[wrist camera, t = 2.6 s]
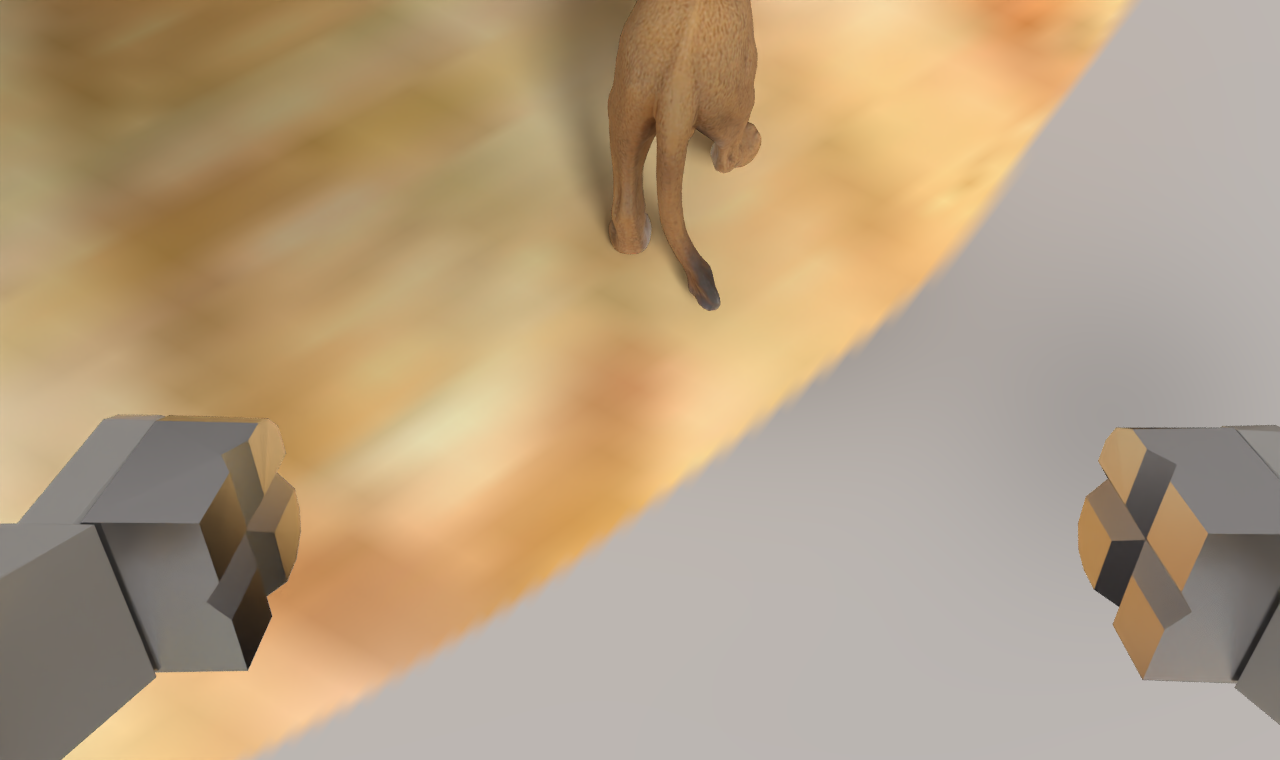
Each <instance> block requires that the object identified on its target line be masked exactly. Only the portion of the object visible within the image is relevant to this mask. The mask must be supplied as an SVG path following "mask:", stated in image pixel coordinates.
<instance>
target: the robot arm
mask: <svg viewBox="0 0 1280 760" xmlns="http://www.w3.org/2000/svg"><path fill="white" fill-rule="evenodd" d="M285 454H286V451H285V448H284V444H283V441H282V438H281V434H280V431H279V427H278V426H277V425H276V424H275V423H274V422H272V421H271V420H270V419H268V418H243V417H210V416H178V415H169V416H162V415H115V416H112V417H109V418H106V419H104V420H103V421H102V422H101V423H100V424H99V425H98V427H97V428H96V429H95V430H94V431H93V433H92V434H91V435H90V436H89V437H88V439H87V440H86V441H85V442H84V443H83V445H82V446H81V447H80V448H79V449H78V451H77V452H76V453H75V454H74V455H73V457H72V458H71V459H70V460H69V462H68V463H67V464H66V465H65V466H64V468H63V469H62V470H61V471H60V472H59V474H58V475H57V476H56V477H55V478H54V480H53V481H52V482H51V483H50V484H49V486H48V487H47V488H46V489H45V490H44V492H43V493H42V494H41V495H40V497H39V498H38V499H37V500H36V501H35V503H34V504H33V505H32V506H31V507H30V509H29V510H28V511H27V512H26V513H25V515H24V516H23V517H22V518H21V519H20V521H19V522H18V523H17V524H0V760H61V759H63V758H64V757H65V756H66V755H67V754H68V753H69V752H71V751H72V750H73V749H74V748H75V747H76V746H78V745H79V744H80V743H81V742H82V741H83V740H84V739H86V738H87V737H88V736H89V735H90V734H91V733H93V732H94V731H95V730H96V729H97V728H98V727H99V726H101V725H102V724H103V723H104V722H105V721H106V720H107V719H109V718H110V717H111V716H112V715H113V714H114V713H116V712H117V711H118V710H119V709H120V708H121V707H122V706H124V705H125V704H126V703H127V702H128V701H129V700H131V699H132V698H133V697H134V696H135V695H136V694H137V693H139V692H140V691H141V690H142V689H143V688H144V687H146V686H147V685H148V684H149V683H150V682H151V681H152V680H154V679H155V678H156V674H155V672H202V671H248V669H249V667H250V665H251V663H252V660H253V658H254V656H255V654H256V651H257V649H258V647H259V645H260V642H261V640H262V638H263V636H264V633H265V631H266V629H267V627H268V624H269V622H270V620H271V618H272V614H271V610H270V607H269V603H268V600H267V596H268V595H269V594H271V593H272V592H273V591H275V590H276V589H277V588H279V587H280V586H282V585H283V584H284V583H286V582H287V581H288V578H289V576H290V573H291V571H292V569H293V566H294V564H295V561H296V558H297V552H298V546H299V539H300V533H301V525H300V508H299V504H298V500H297V495H296V491H295V488H294V487H292V486H291V485H290V484H289V483H288V482H287V481H286V480H285V479H284V478H282V477H281V476H280V475H279V474H278V473H277V470H278V468H279V466H280V464H281V462H282V460H283V458H284V456H285ZM1098 461H1099V463H1100V465H1101V467H1102V469H1103V471H1104V473H1105V475H1106V476H1107V478H1108V479H1107V480H1106V481H1105V482H1103V483H1102V484H1101V485H1100V486H1098V487H1097V488H1096V489H1095V490H1094V491H1092V492H1091V493H1090V494H1089V495H1087V496H1086V498H1085V502H1084V505H1083V509H1082V512H1081V515H1080V519H1079V522H1078V539H1079V540H1078V545H1079V546H1078V547H1079V553H1080V557H1081V561H1082V565H1083V568H1084V571H1085V573H1086V575H1087V577H1088V579H1089V581H1090V583H1091V585H1092V587H1093V589H1094V590H1095V591H1097V592H1098V593H1100V594H1101V595H1102V596H1104V597H1105V598H1107V599H1108V600H1110V601H1111V602H1113V603H1114V604H1115V605H1117V606H1118V607H1119V609H1118V612H1117V614H1116V617H1115V620H1114V622H1113V626H1114V628H1115V630H1116V632H1117V634H1118V635H1119V637H1120V639H1121V641H1122V643H1123V645H1124V647H1125V648H1126V650H1127V652H1128V654H1129V656H1130V658H1131V660H1132V661H1133V663H1134V665H1135V667H1136V669H1137V671H1138V672H1139V674H1140V676H1141V678H1142V680H1155V681H1182V682H1210V683H1236V686H1235V688H1236V689H1237V690H1238V691H1239V692H1241V693H1242V694H1243V695H1244V696H1245V697H1247V698H1248V699H1249V700H1250V701H1251V702H1253V703H1254V704H1255V705H1256V706H1257V707H1259V708H1260V709H1261V710H1262V711H1264V712H1265V713H1266V714H1267V715H1269V716H1270V717H1271V718H1272V719H1273V720H1274V721H1276V722H1277V723H1278V724H1279V725H1280V427H1279V426H1276V425H1254V426H1222V427H1220V428H1115V430H1114V431H1113V432H1112V433H1111V435H1110V436H1109V437H1108V438H1107V439H1106V441H1105V444H1104V447H1103V449H1102V452H1101V455H1100V458H1099V460H1098Z"/></svg>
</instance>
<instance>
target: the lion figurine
mask: <svg viewBox="0 0 1280 760" xmlns="http://www.w3.org/2000/svg"><path fill="white" fill-rule="evenodd" d="M756 68H757V49H756V45H755V40H754V30H753V18H752V10H751V2H750V0H638V1H637V3H636V5H635V6H634V8H633V10H632V12H631V14H630V16H629V18H628V19H627V21H626V23H625V25H624V28H623V30H622V33H621V35H620V41H619V48H618V53H617V58H616V68H615V76H614V83H613V87H612V89H611V92H610V94H609V99H608V117H609V134H610V148H611V157H612V165H613V204H612V210H611V214H612V220H611V222H610V224H609V235H610V240H611V243H612V245H613V247H614V249H616V250H617V251H619V252H621V253H625V254H636V253H640V252H642V251H644V250H645V249H646V248H647V246H648V244H649V241H650V237H651V223H650V219H649V217H648V214H647V213H646V212H645V200H644V194H643V178H642V172H643V166H644V163H645V160H646V156H647V153H648V151H649V148H650V146H651V144H652V141H653V139H654V137H655V136H656V138H657V166H656V178H657V196H658V206H659V215H660V221H661V225H662V228H663V231H664V234H665V236H666V238H667V240H668V242H669V244H670V246H671V248H672V250H673V252H674V254H675V255H676V257H677V259H678V260H679V261H680V263H681V264H682V266H683V268H684V270H685V272H686V275H687V278H688V287H689V291H690V292H691V293H692V294H693V295H694V296H695V297H696V299H697V301H698V303H699V304H700V305H701V306H702V307H703V308H704V309H706V310H708V311H712V310H716V309H718V307H719V306H720V298H719V294H718V291H717V289H716V287H715V283H714V278H713V274H712V270H711V268H710V266H709V264H708V263H707V262H706V261H705V260H704V259H703V258H702V257H701V256H700V255H699V253H698V252H697V250H696V249H695V247H694V246H693V244H692V242H691V240H690V238H689V236H688V233H687V231H686V227H685V223H684V217H683V208H682V192H681V191H682V178H683V171H684V165H685V158H686V151H687V145H688V141H689V139H690V138H691V137H692V135H693V133H694V131H695V129H697V130H698V131H700V132H701V133H703V134H704V135H706V136H707V137H709V138H710V139H711V140H713V141H714V143H713V145H712V148H711V158H712V160H713V164H714V167H715V169H716V170H717V171H719V172H722V173H727V172H730V171H731V170H732V169H733V168H736V167H742V166H745V165H746V164H748V163H749V162H750V161H752V160H753V158H754V157H755V155H756V154H757V153H758V150H759V148H760V145H761V137H760V134H759V132H758V131H757V129H756V127H755V126H754V125H753V124H751V123H749V122H748V120H749V117H750V113H751V111H752V108H753V106H754V100H755V90H754V79H755V74H756Z"/></svg>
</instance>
